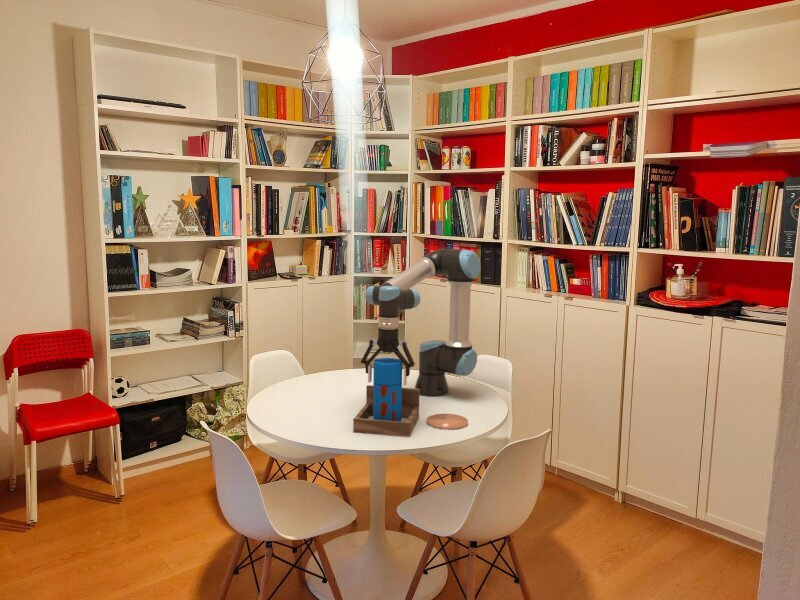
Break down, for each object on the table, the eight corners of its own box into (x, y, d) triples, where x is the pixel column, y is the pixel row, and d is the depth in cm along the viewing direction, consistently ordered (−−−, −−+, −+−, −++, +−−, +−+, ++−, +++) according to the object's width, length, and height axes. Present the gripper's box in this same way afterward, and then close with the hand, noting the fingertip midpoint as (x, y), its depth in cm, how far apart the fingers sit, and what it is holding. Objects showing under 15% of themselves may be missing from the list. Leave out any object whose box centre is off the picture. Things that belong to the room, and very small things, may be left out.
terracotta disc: (429, 414, 258) (429, 412, 258) (469, 417, 255) (469, 415, 255) (423, 428, 242) (423, 425, 242) (465, 431, 239) (465, 428, 239)
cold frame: (367, 414, 257) (367, 385, 255) (418, 418, 253) (419, 388, 251) (353, 432, 237) (353, 400, 235) (409, 436, 233) (409, 404, 231)
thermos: (379, 418, 252) (380, 356, 248) (405, 422, 248) (406, 359, 244) (368, 427, 242) (369, 362, 238) (394, 431, 238) (395, 365, 234)
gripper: (353, 327, 238) (352, 383, 241) (419, 331, 233) (418, 388, 236) (358, 324, 245) (357, 378, 248) (423, 327, 241) (421, 382, 244)
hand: (387, 383), depth 242 cm, fingers open, 13 cm apart
